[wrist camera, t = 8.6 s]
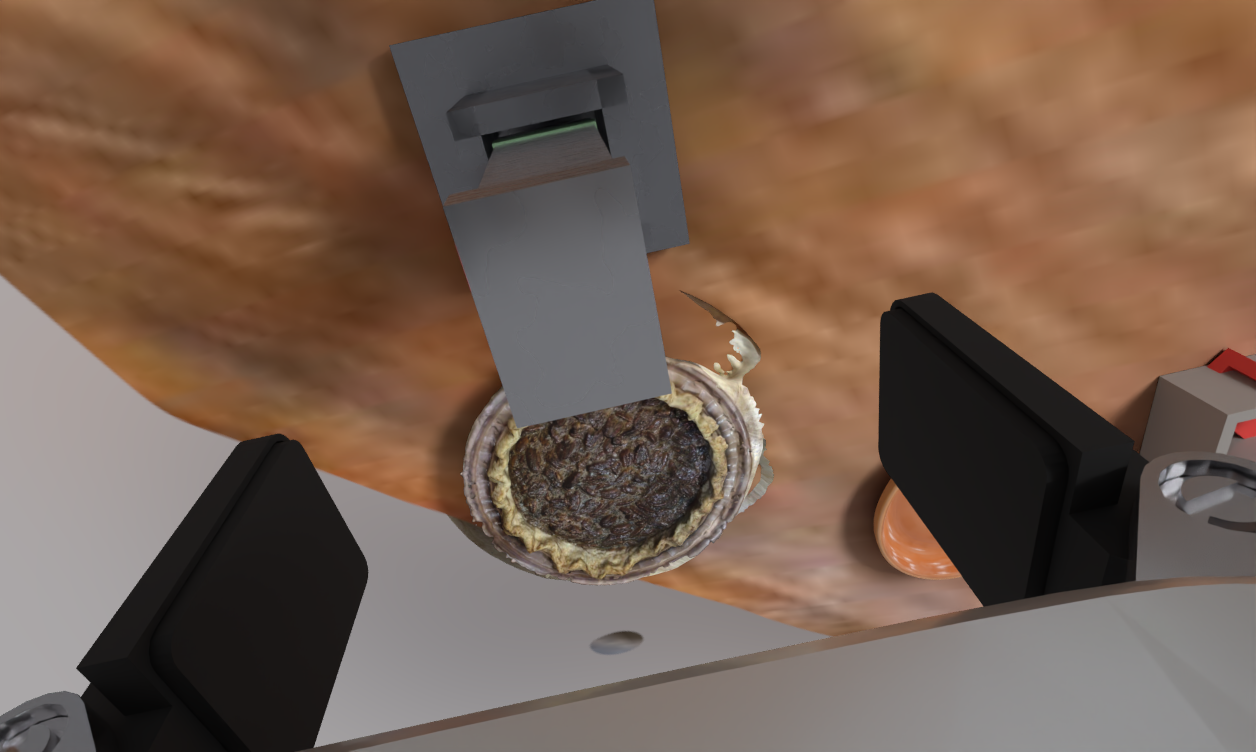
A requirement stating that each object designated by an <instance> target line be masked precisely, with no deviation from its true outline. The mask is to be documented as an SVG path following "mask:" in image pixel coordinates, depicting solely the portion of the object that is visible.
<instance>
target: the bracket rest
mask: <svg viewBox="0 0 1256 752" xmlns="http://www.w3.org/2000/svg"><path fill="white" fill-rule="evenodd" d="M1246 357H1247V358H1249V359H1251V360H1253V361H1255V362H1256V354H1255V355H1250V356H1246ZM1207 366H1208V365H1207ZM1207 366H1202V367H1198V368H1193V369H1189V370H1185V371H1180V372H1176V373H1171V374H1167V375H1163V376H1160V377H1159V381H1158V384H1157V388H1156V392H1155V396H1154V400H1153V404H1152V408H1151V412H1150V416H1149V419H1148V423H1147V427H1146V431H1145V435H1144V439H1143V443H1142V447H1141V451H1140V455H1141V456H1142V457H1144V458H1145V459H1146V460H1147V461H1149V462H1151V461H1152V460H1154V459H1155V458H1156V457H1160V456H1163V455H1167V454H1170V453H1174V452H1188V451H1202V452H1212V453H1222V454H1226V455H1231V456H1235V457H1239V458H1243V459H1247V460H1251V461H1253V462H1256V436H1254V437H1250V438H1246V439H1244V438H1242V437H1240V436H1239V435H1237V434H1235V433H1234V431H1235V428H1236V425H1237V423H1239V422H1244V421H1248V420H1252V419H1256V381H1254V380H1252V379H1250V378H1248V377H1246V376H1245V375H1243V374H1241V373H1239V372H1237V371H1235V370H1232V371H1228V372H1224V373H1218V372H1216V371H1214V370H1212V369H1210V368H1208V367H1207Z"/></svg>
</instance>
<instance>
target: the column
mask: <svg viewBox="0 0 1256 752" xmlns="http://www.w3.org/2000/svg"><path fill="white" fill-rule="evenodd" d="M492 146H493V152H492V154H491V157H490V159H489V162H488V164H487V167H486V169H485V172H484V174H483V177H482V180H481V182H480V185H479V187H478V189H474V190H469V191H465V192H460V193H456V194H451V195H449V196H448V198H447V200H446V202H445V203H444V205H443V209H444V212H445V215H446V218H447V221H448V224H449V227H450V230H451V233H452V236H453V239H454V242H455V245H456V248H457V251H458V254H459V257H460V260H461V263H462V266H463V269H464V272H465V275H466V278H467V281H468V284H469V287H470V290H471V293H472V296H473V299H474V302H475V305H476V308H477V311H478V314H479V317H480V319H481V322H482V325H483V328H484V331H485V334H486V337H487V340H488V343H489V346H490V349H491V352H492V355H493V358H494V361H495V364H496V367H497V370H498V373H499V376H500V379H501V382H502V385H503V388H504V391H505V394H506V397H507V400H508V403H509V406H510V409H511V412H512V415H513V418H514V421H515V424H516V427H517V428H522V427H526V426H531V425H535V424H539V423H544V422H548V421H553V420H557V419H561V418H566V417H570V416H575V415H579V414H583V413H588V412H592V411H597V410H601V409H606V408H610V407H614V406H619V405H623V404H628V403H632V402H636V401H641V400H645V399H650V398H654V397H658V396H663V395H667V394H672V391H671V385H670V380H669V374H668V369H667V363H666V358H665V352H664V347H663V341H662V336H661V330H660V325H659V320H658V314H657V309H656V303H655V298H654V292H653V287H652V281H651V276H650V270H649V265H648V259H647V254H646V248H645V243H644V238H643V232H642V227H641V221H640V216H639V210H638V205H637V199H636V194H635V188H634V183H633V177H632V172H631V166H630V164H629V162H628V161H627V159H626V158H625V156H622V157H618V158H612V156H611V155H610V153H609V151H608V149H607V147H606V145H605V143H604V142H603V140H602V138H601V136H600V134H599V132H598V130H597V125H596V121H595V119H591V117H589V118H584V119H580V120H575V121H571V122H566V123H562V124H557V125H553V126H548V127H544V128H539V129H535V130H530V131H526V132H521V133H517V134H512V135H508V136H503V137H499V138H498V139H497V140H496V141H493V143H492Z"/></svg>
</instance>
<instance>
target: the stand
mask: <svg viewBox="0 0 1256 752" xmlns="http://www.w3.org/2000/svg"><path fill="white" fill-rule="evenodd" d="M389 46H390V49H391V52H392V55H393V58H394V61H395V64H396V67H397V70H398V73H399V76H400V79H401V82H402V85H403V88H404V91H405V94H406V97H407V100H408V103H409V106H410V109H411V112H412V115H413V118H414V121H415V124H416V127H417V130H418V133H419V136H420V139H421V142H422V145H423V148H424V151H425V154H426V157H427V160H428V163H429V166H430V169H431V172H432V175H433V178H434V181H435V184H436V187H437V190H438V193H439V196H440V199H441V202H442V205H444V203H445V202H446V200H447V198H448V196H449V195H451V194H456V193H460V192H465V191H469V190H474V189H478V187H479V185H480V182H481V180H482V177H483V174H484V172H485V169H486V167H487V164H488V162H489V159H490V157H491V154H492V152H493V146H492V143H493V141H496V140H497V139H498V138H499V137H503V136H508V135H512V134H517V133H521V132H526V131H530V130H535V129H539V128H544V127H548V126H553V125H557V124H562V123H566V122H571V121H575V120H580V119H584V118H589V117H591V119H595V121H596V125H597V130H598V132H599V134H600V136H601V138H602V140H603V142H604V143H605V145H606V147H607V149H608V151H609V153H610V155H611V156H612V158H618V157H622V156H625V158H626V159H627V161H628V162H629V164H630V166H631V172H632V177H633V183H634V188H635V194H636V199H637V205H638V210H639V216H640V221H641V227H642V232H643V238H644V243H645V248H646V253H650V252H654V251H658V250H663V249H667V248H672V247H676V246H681V245H685V244H689V237H688V230H687V223H686V216H685V209H684V203H683V196H682V189H681V182H680V175H679V169H678V162H677V155H676V148H675V141H674V135H673V128H672V121H671V114H670V107H669V101H668V94H667V87H666V80H665V73H664V67H663V60H662V53H661V46H660V39H659V33H658V26H657V19H656V12H655V5H654V0H595V1H590V2H586V3H581V4H576V5H572V6H567V7H563V8H558V9H554V10H549V11H544V12H540V13H535V14H531V15H526V16H522V17H517V18H513V19H508V20H503V21H499V22H494V23H490V24H485V25H481V26H476V27H472V28H467V29H462V30H458V31H453V32H449V33H444V34H440V35H435V36H430V37H426V38H421V39H417V40H412V41H408V42H403V43H399V44H394V45H389ZM455 246H456V245H455ZM456 249H457V248H456ZM457 252H458V251H457ZM458 255H459V254H458ZM459 258H460V257H459ZM460 261H461V260H460ZM461 264H462V263H461ZM462 267H463V266H462ZM463 270H464V269H463ZM464 273H465V272H464ZM465 276H466V275H465ZM466 279H467V278H466ZM467 282H468V281H467ZM468 285H469V284H468ZM469 288H470V287H469ZM470 291H471V290H470Z"/></svg>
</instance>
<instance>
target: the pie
mask: <svg viewBox="0 0 1256 752" xmlns="http://www.w3.org/2000/svg"><path fill="white" fill-rule="evenodd" d="M681 292H682V291H681ZM682 293H684V294H686V295H687V296H688V297H689V298H690V299H692V300H693V301H694V302H695V303H697V304H698V305H699V306H701V307H702V308H704V309H705V310H707V311H709V312H710V313H711V315H712V316H713V318H714V319H716V321H717V322H716V326H720V325H721V324H724V323H726V322H733V323H734V324H736V325H737V330H736V331H734V330H733V331H732V332H734V334H735V336H734V339H732V340H731V341H730V344H732V345H734V347H733V348H734V350H735V351H737V353H739V351H740V354H741V355H742V358H743V361H742V362H740V361H739V360H736V359H735V357H734V356H732V355H729V354H728V355H727V357H728V359H729V361H730V362H731V366H732V367H733V370H732V371H726V372H727V373H728V375H724V371H723V370H722V369H720V365H719V364H718V363H714V369H715V370H716V372H719V373H720V375H718V374H716V373H714V372H712V371H711V370H709V369H707V368H705V367H703V366H701V365H699V364H697V363H694V362H690V361H685V360H679V359H673V358H669V357H666V356H665V358H666V363H667V369H668V374H669V380H670V385H671V391H672V394H667V395H663V396H658V397H654V398H650V399H645V400H641V401H636V402H632V403H628V404H623V405H619V406H614V407H610V408H606V409H601V410H597V411H592V412H588V413H583V414H579V415H575V416H570V417H566V418H561V419H557V420H553V421H548V422H544V423H539V424H535V425H531V426H526V427H522V428H517V427H516V424H515V421H514V418H513V415H512V412H511V409H510V406H509V403H508V400H507V397H506V394H505V391H504V388H503V386H502V387H501V388H500V389H499V390H498V391H497V392H496V393H495V394H494V395H493V396H492V397H491V399H490V401H489V402H488V404H487V405H486V406H485V407H484V409H483V411H482V412H481V414H480V415H479V416H478V417H477V418H476V420H475V422H474V424H473V427H472V429H471V431H470V434H469V436H468V439H467V444H466V448H465V457H464V458H463V460H464V463H463V472H461V473H460V474H461V476H463V478H464V484H465V486H464V495H465V496H466V503H467V504H468V505H469V508H470V512H471V516H473V520H472V522H474V521H477V522H483V525H482V528H481V527H479V526H477V525H474V524H472V523H469V522H467V521H464V520H461V519H458V518H456V517H453V516H450V515H447V516H448V517H449V518H450V519H451V521H452V522H453V523H454V524H455V525H456V526H457V527H458V529H460V530H461V531H462V533H463V534H464V535H465V536H466V537H467V538H468V539H469V540H471V541H472V542H473V543H475V544H476V545H477V546H478V547H480V548H481V549H482V550H484V551H485V552H487V553H488V554H490V555H491V556H493V557H495V558H497V559H499V560H501V561H503V562H505V563H506V564H509V565H511V566H513V567H515V568H517V569H520V570H522V571H525V572H528V573H531V574H534V575H536V576H540V577H543V578H546V579H555V580H568V581H571V582H573V583H579V584H583V585H586V584H589V585H610V584H623V583H628V582H631V581H634V580H637V579H639V578H642V577H646V576H651V575H655V574H659V573H662V572H666V571H669V570H672V569H675V568H677V567H679V566H680V565H682V564H683V563H685V562H687V561H689V560H690V559H692V558H694V557H695V556H697V555H699V554H700V553H701V552H702V551H703V550H704V549H705V548H706V547H707V546H708V544H709V543H710V542H712V543H714V542H715V541H716V540H717V539H719V538H720V536H721V534H722V532H723V529H725V528H726V526H727V523H728V522H731V521H732V520H733V519H734V517H735V516H736V515H737V514H738V513H740V512H744V509H747V508H748V506H749V505H753V504H754V503H755V502H756V500H757V499H761V497H762V495H764V494H765V492H766V490H767V487H768V485H769V484H771V483H772V481H773V478H774V474H773V470H772V467H771V466H768V465H769V462H770V461H769V460H767V459H766V458H765V457H764V456H763V452H764V450H767V449H766V448H765V446H766V440H765V439H764V438H763V436H764V435H763V434H762V431H761V429H762V427H763V425H764V424H763V423H761V422H759V419H760V417H761V415H762V414H759V415H758V411H759V409H758V408H755V406H756V402H755V401H754V399H753V397H750V394H749V391H748V388H747V387H745V386H743V385H742V380H743V376H744V375H745V373H748V372H749V371H750V370H751V369H753V368H754V367H755V365H756V364H757V363H758V362H759V361H760V358H761V352H760V349H759V347H758V346H757V345H756V343H755V342H754V341H753V340H752V339H751V337H750V336H749V335H748V334H747V333H746V332H745V331H744V330H743V329H742V328H741V327H740V326H739V325H738V324H737V323H736V322H735V321H733V320H732V319H731V318H729V317H728V316H726V315H725V314H723V313H722V312H721V311H719V310H718V309H716V308H714V307H713V306H711V305H709V304H708V303H706V302H704V301H702V300H700V299H698V298H696V297H694V296H692V295H689V294H687V293H685V292H682ZM737 347H739V349H737ZM758 464H760V465H761V467H762V469H761V480H760V482H759V483H758V484H757V485H756V487H755V488H754V489H753V490H752V492H751V493H749V494H748V495H747V493H748V491H749V489H750V486H751V484H752V481H753V478H754V476H755V472H756V469H757V466H758ZM746 495H747V496H746Z"/></svg>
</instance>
